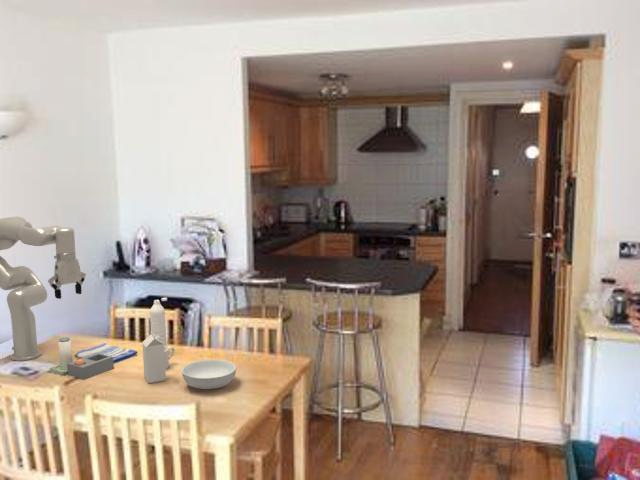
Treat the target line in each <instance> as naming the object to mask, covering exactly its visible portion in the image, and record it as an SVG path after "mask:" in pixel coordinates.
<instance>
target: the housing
mask: <svg viewBox="0 0 640 480" xmlns="http://www.w3.org/2000/svg"><path fill="white" fill-rule="evenodd" d="M82 359H84V364H83V365H80V366H77V365H76V360H72V362H70V363H67V370H68V375H67V376H70V377H73V376H74V377H73V378H76V377H77V378H76V379H80V380H87V379H88V378H89V379H90V378H91V377H94V376H97V375H99V374H102V373H104V372H108V371H110V370H113V369H114V368H115V366H114V364H115V363H113V357H111V356H108V355H104V354H100V353H96V354H93V355H90V356H87V357H84V358H82Z"/></svg>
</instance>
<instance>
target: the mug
mask: <svg viewBox="0 0 640 480" xmlns="http://www.w3.org/2000/svg"><path fill="white" fill-rule="evenodd" d="M166 346H167V345H166ZM166 346H164V352H165V371H166V370H167V369H169V367H170V363H169V361H170V359H171V358H172V357H173V355H174V353H175V348H174V347H173V346H171V345H170V346H168V347H166ZM170 349H171V353H170V355H169V352H170V351H169V350H170Z"/></svg>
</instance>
